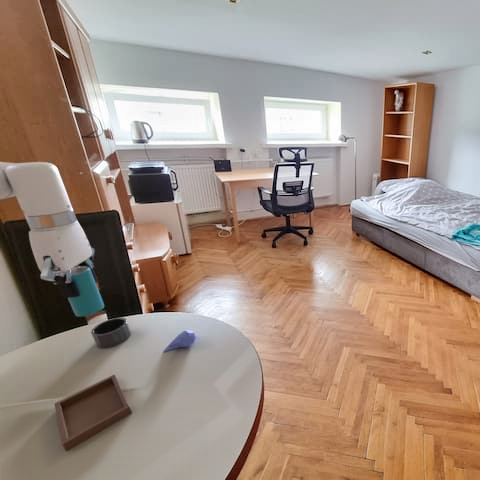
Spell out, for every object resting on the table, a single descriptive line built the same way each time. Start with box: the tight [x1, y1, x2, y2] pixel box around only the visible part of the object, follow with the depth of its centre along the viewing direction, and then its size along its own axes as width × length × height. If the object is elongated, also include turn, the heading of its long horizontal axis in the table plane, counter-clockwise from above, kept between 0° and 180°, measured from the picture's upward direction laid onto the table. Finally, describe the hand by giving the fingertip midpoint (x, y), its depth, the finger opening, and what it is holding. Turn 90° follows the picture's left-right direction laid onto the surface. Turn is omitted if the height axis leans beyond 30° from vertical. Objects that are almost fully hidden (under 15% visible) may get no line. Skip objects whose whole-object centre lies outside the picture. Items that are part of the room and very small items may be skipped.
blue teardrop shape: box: [162, 329, 197, 353], centre depth 82 cm, size 8×6×6 cm
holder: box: [90, 317, 132, 349], centre depth 84 cm, size 8×8×5 cm
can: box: [60, 266, 105, 318], centre depth 70 cm, size 6×6×11 cm
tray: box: [54, 374, 133, 452], centre depth 63 cm, size 14×11×2 cm
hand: (81, 289), depth 70 cm, fingers closed on can, 5 cm apart
